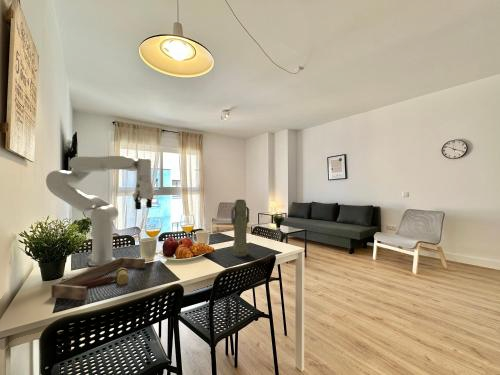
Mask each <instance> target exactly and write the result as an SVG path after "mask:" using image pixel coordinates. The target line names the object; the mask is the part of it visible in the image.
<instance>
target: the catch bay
mask: <svg viewBox="0 0 500 375" xmlns="http://www.w3.org/2000/svg"><path fill="white" fill-rule="evenodd" d="M121 267H123V268H125V267H127V268H142V269H144V268H146V259H145V258H140V257H139V258H138V257H126V256H123V257H122V256H120V257H118V258H116V259H115V260H112V261H110V262H107V263H105V264H103V265H100V266H94V268H91V269H88V270H86V271H83V272H81V273H78V274H75V275H73V276H70V277H68V278H66V279H63V280H60V281H58V282H55V283H53V284H51V290H50V291H51V293H50V294H51V298H58V299H66V300H67V299H69V300H77V301H86V300H87V299H88V288H87V287H83V286H75V285H77V284H79V283H83V282H87V281H92V280H96V279H98V278H99V277H100V276H103V275H106V274H107V273H110V272H113V271H114V270H117V269H119V268H121Z"/></svg>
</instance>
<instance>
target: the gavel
mask: <svg viewBox="0 0 500 375" xmlns="http://www.w3.org/2000/svg"><path fill="white" fill-rule="evenodd" d="M128 273H129V272H128V270H127V268H125V267H119V268H117V269H116V272H115V275H109V276H105V277H101V278H95V279H92V280H90V281H87V282H83V283H79V284H77V285H75V286H83V287H87V289H88V288H92V287H96V286H99V285H105V284H107V283H112V282H114V281H116V283H117V284H118V285H125V284H127V283H129V280H130V278H129V274H128Z"/></svg>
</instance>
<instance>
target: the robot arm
mask: <svg viewBox="0 0 500 375" xmlns="http://www.w3.org/2000/svg"><path fill="white" fill-rule="evenodd" d="M68 165H69V167H70V170H62V169H57V170H52V171H51V172H48V174H47V176H46V178H45V185H46V187H47V189H48V190H49V192H50V193H52V194H53V195H54V196H55V197H57V198H59V199H60V200H61V201H64V202H65V203H67V204H68V205H70V206H71V207H73V209H76V210H78V211H79V212H81V213H91V214H90V223H91V230H92V231H91V232H92V234H91V236H92V237H91V238H92V248H91V253H90V254H89V255H87V259H90V261H88V266H92V267H98V266H100V265H103V264H105V263H107V262H110V261H112V260H115V259H117V258H116V257H114V256H113V240H114V239H113V230H114V229H113V225H112V221H114V220H116V219H117V218H118V216H119V210H118V208H117V207H116V206H115V205H113V204H112V203H110V202H108V201H106V200H105V199H104V198H102V197H100V196H97V195H93V194H92V195H89V194H86V193H84V192H82V191H80V190H79V189H78V188H76V187H73V186H75V185H77V184H79V183H80V182H82V181H83V180H84V179H85V178H87V177H88V176H89V175H90V174H91V173H92V172H98V173H99V172H103V173H104V172H106V171H110V170H125V171H129V172H136V183H135V192H134V193H133V194H132V197H133V201H134V204H135V205H134V206H135V208H134V209H135V210H142V202H141V200H142V199H144V200H146V204H145V207H146V208H148V209H151V208H152V204H153V203H152V202H153V198H154V192H153V184H152V160H151V159H150V158H147V157H145V158H144V157H141V158H140V157H139V158H133V157H131V156H129V155H128V156H127V155H105V156H104V155H103V156H85V155H84V156H83V155H82V156H74V157H72V158H70V159H69V162H68Z"/></svg>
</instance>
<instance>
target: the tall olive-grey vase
mask: <svg viewBox="0 0 500 375" xmlns="http://www.w3.org/2000/svg"><path fill="white" fill-rule="evenodd" d="M230 210H231V212H230V216H231V217H230V218H231V219H230V221H231V222H230V223H231V224H232V225H233V226H232V227H233V232H234V233H233V244H232V246H233V248H232V250H233V256H234V257H238V258H241V257H242V258H243V257H246V256H248V243H247V230H248V229H247V228H248V224H249V222H250V208H249V207H248V206H247V203H246V200H245V199H236V200H235V201H234V206H233V207H231V209H230Z"/></svg>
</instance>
